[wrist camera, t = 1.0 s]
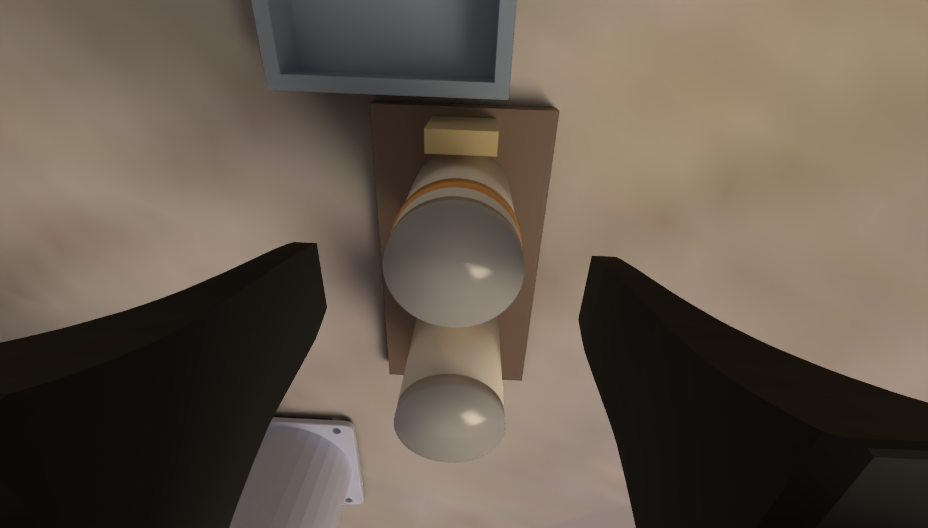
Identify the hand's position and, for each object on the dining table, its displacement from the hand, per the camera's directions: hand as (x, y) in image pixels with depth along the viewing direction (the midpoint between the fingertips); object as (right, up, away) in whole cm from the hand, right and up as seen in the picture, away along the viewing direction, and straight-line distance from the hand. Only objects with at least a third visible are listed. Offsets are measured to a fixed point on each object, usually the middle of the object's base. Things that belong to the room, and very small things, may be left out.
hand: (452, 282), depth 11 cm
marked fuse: (0, +3, +6) cm, 7 cm away
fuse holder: (0, +1, +8) cm, 8 cm away
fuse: (0, -2, +9) cm, 9 cm away
